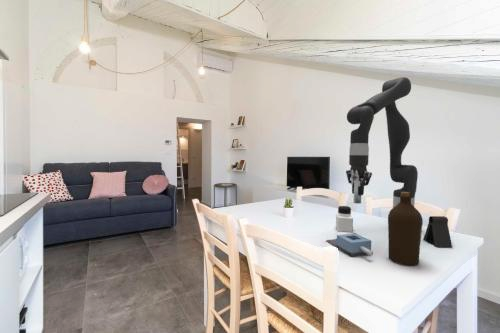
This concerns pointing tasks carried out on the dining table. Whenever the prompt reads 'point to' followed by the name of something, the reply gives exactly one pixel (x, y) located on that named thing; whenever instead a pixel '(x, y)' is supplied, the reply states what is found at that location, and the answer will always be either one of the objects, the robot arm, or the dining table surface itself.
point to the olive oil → (404, 232)
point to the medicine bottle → (344, 219)
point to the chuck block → (354, 245)
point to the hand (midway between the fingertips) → (357, 194)
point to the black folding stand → (438, 232)
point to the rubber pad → (332, 242)
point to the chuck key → (356, 190)
